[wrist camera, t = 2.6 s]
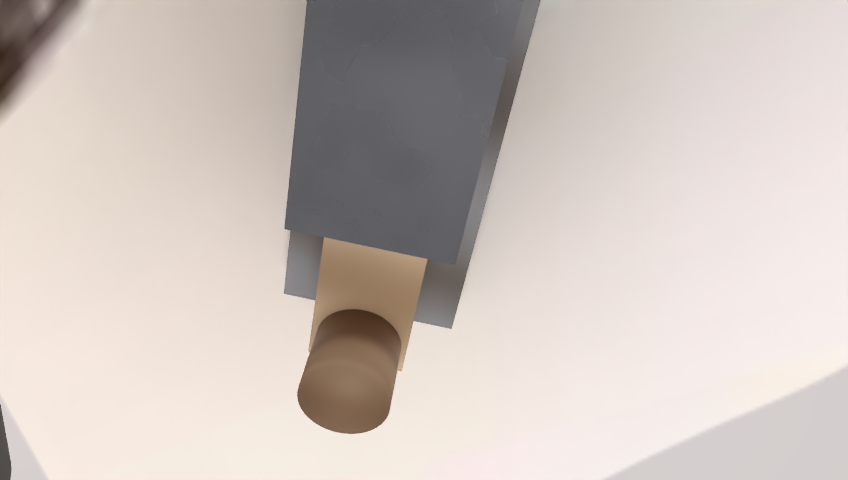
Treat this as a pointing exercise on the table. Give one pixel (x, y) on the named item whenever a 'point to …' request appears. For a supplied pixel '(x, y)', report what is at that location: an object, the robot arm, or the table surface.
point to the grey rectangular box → (396, 119)
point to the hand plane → (383, 294)
